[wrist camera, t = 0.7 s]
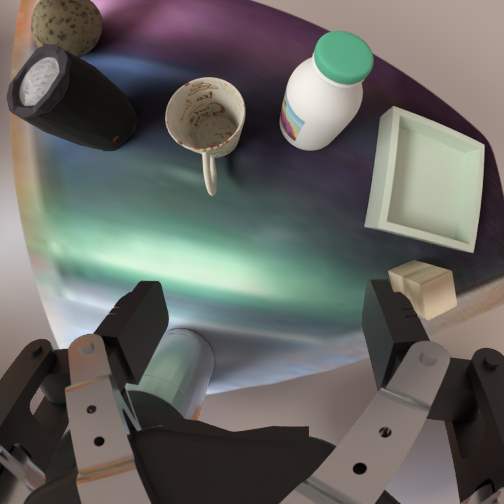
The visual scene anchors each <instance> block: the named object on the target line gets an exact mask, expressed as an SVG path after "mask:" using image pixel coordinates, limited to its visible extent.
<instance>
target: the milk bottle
mask: <svg viewBox="0 0 504 504" xmlns="http://www.w3.org/2000/svg"><path fill="white" fill-rule="evenodd" d="M373 61H374V59H373V54H372V52H371V49H370V48H369V46H368V45H367V44H366V43H365V42H364V41H363V40H362V39H361V38H359V37H358V36H356V35H354V34H352V33H349V32H344V31H333V32H329V33H327V34H325V35H324V36H322V37H321V38H320V39H319V41H318V43H317V45H316V47H315V51H314V54H313V57H312V58H309V59H307V60H306V61H304V62H303V63H301V64H300V65H299V66H298V67H297V68H296V69H295V70H294V72H293V73H292V75H291V77H290V79H289V82H288V85H287V88H286V92H285V96H284V100H283V104H282V109H281V114H280V128H281V131H282V133H283V135H284V137H285V138H286V139H287V141H288V142H290V143H291V144H292V145H293V146H295V147H297V148H300V149H303V150H309V151H313V150H319V149H321V148H324V147H325V146H327V145H328V144H329V143H330V142H332V141H333V140H334V139H335V137H336V136H337V135H338V134H339V133H340V132H341V131H342V130H343V129H344V128H345V127H346V126H347V125H348V124H349V122H350V121H351V120H352V119H353V118H354V116H355V115H356V113H357V112H358V110H359V108H360V105H361V102H362V95H363V89H362V82H363V81H364V79H365V78H366V77H367V75H368V74H369V73H370V71H371V69H372V67H373Z"/></svg>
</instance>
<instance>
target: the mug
mask: <svg viewBox="0 0 504 504" xmlns="http://www.w3.org/2000/svg"><path fill="white" fill-rule="evenodd" d="M244 120H245V104H244V100H243V98H242V96H241V94H240V93H239V91H238V90H237V89H236V88H235V87H234V86H233V85H232V84H230V83H229V82H227V81H224V80H222V79H218V78H212V77H206V78H199V79H195V80H192V81H190V82H188V83H186V84H185V85H183V86H182V87H180V88H179V89H178V90H177V91H176V92H175V93H174V95H173V96H172V98H171V99H170V101H169V103H168V106H167V109H166V125H167V128H168V131H169V133H170V135H171V136H172V137H173V139H174V140H175V141H176V142H177V143H179V144H180V145H181V146H183V147H185V148H187V149H189V150H192V151H195V152H197V153H200V154H202V155H203V170H204V178H205V183H206V187H207V190H208V193H209V194H210V195H211V196H213V195H215V193H216V188H217V184H216V182H217V173H216V166H215V160H214V158H218V157H223V156H225V155H227V154H229V153H230V152H232V151H233V150H234V149H235V147H236V146H237V144H238V141H239V138H240V135H241V131H242V127H243V124H244ZM210 157H211V158H210Z"/></svg>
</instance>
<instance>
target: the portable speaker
mask: <svg viewBox="0 0 504 504" xmlns="http://www.w3.org/2000/svg"><path fill="white" fill-rule="evenodd" d="M7 101H8V106H9V110H10V111H11V112H12V113H13V114H15V115H17V116H18V117H20V118H22V119H23V120H25V121H27V122H28V123H30V124H32V125H34V126H35V127H37V128H39V129H41V130H42V131H44V132H46V133H49V134H52V135H54V136H57V137H60V138H62V139H65V140H68V141H70V142H73V143H75V144H78V145H82V146H86V147H91V148H95V149H100V150H103V151H114V150H115V149H116V148H118V147H119V146H121V145H123V144H124V143H125V142H126V141H127V140H128V139H129V138H130V136H131V135H133V134H134V133H135V131H136V128H137V125H138V119H137V115H136V111H135V109H134V108H133V106H132V105H131V103H130V102H129V100H128V99H127V97H126V96H125V95H124V93H123V92H122V91H121V90H120V89H119V88H118V87H117V86H116V85H114V84H113V83H112V82H111V81H110V80H109V79H108V78H107V77H105V76H104V75H103V74H102V73H101V72H100V71H99V70H98V69H96V68H95V67H94V66H92V65H91V64H89V63H87V62H85V61H84V60H82V59H80V58H78V57H77V56H75V55H73V54H71V53H69V52H68V51H65V50H64V49H63V48H62V47H60V46H59V45H56V44H54V45H51V44H46V45H44V46H42V47H40V48H38V49H36V50H35V52H34V53H33V55H32V56H31V57H30V58H29V60H28V61H27V62H26V63H25V65H24V66H23V67H22V69H21V70H20V71H19V72H18V74H17V75H16V77H15V78H14V79H13V81H12V82H11V83H10V85H9V89H8V93H7Z"/></svg>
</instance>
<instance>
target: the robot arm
mask: <svg viewBox="0 0 504 504" xmlns="http://www.w3.org/2000/svg"><path fill="white" fill-rule="evenodd" d="M168 322H169V315H168V310H167V306H166V302H165V298H164V294H163V290H162V286H161V284H160V282H159V281H140V282H139V283H138V284H137V286H136V287H135V288H134V290H133V291H132V292H129V293H128V294H126V295H125V296H123V297H122V298H121V299H119V301H118V302H117V303H116V305H115V306H114V308H112V310H111V311H110V312H109V315H107V316H106V317H105V319H104V320H103V321H102V323H101V324H100V325H99V327H98V328H97V329H96V331H95V332H94V333H93V334H86V335H83V336H80V337H78V338H77V339H75V340H74V341H73V342H72V343H71V345H70V346H69V349H59V350H54V349H53V347H52V345H51V343H50V342H49V341H48V340H46V339H38V340H35V341H33V342H31V343H29V344H28V345H27V346H26V347H25V348H24V349H23V350H22V352H21V353H20V354H19V356H18V357H17V358H16V359H15V361H14V362H13V363H12V365H11V366H10V367H9V369H8V370H7V371H6V373H5V374H4V375H3V377H2V378H1V380H0V504H400V503H399V502H398V501H397V500H396V499H395V498H394V497H393V496H391V495H390V494H389V493H388V492H387V491H386V490H385V488H386V486H387V485H388V484H389V482H390V480H391V479H392V478H393V476H394V475H395V473H396V471H397V470H398V468H399V467H400V465H401V463H402V462H403V460H404V458H405V457H406V455H407V453H408V451H409V449H410V448H411V446H412V444H413V443H414V441H415V439H416V437H417V435H418V433H419V431H420V429H421V427H422V426H423V424H424V422H425V420H426V419H433V420H442V421H444V422H445V426H446V430H447V434H448V439H449V443H450V448H451V453H452V458H453V463H454V468H455V473H456V479H457V485H458V492H459V498H460V504H504V356H503V355H502V354H501V353H500V352H498V351H496V350H494V349H490V348H482V349H479V350H477V351H476V352H475V353H474V355H473V357H472V359H471V360H466V359H457V358H451V357H450V356H449V353H448V352H447V350H446V349H445V348H444V347H443V346H441V345H439V344H438V343H435V342H431V341H430V340H429V338H428V336H427V334H426V332H425V329H424V327H423V325H422V323H421V321H420V319H419V317H417V313H416V311H415V310H414V307H413V305H412V303H411V301H410V299H408V298H407V297H406V296H405V295H404V294H402V293H401V292H394V291H393V289H392V287H391V285H390V283H389V281H388V280H387V279H380V280H368V282H367V286H366V293H365V300H364V307H363V314H362V326H363V332H364V336H365V339H366V343H367V347H368V351H369V355H370V360H371V363H372V368H373V372H374V377H375V381H376V385H377V390H378V393H377V395H376V396H375V397H374V399H373V400H372V401H371V403H370V404H369V406H368V407H367V408H366V410H365V411H364V412H363V414H362V415H361V417H360V418H359V419H358V421H357V422H356V423H355V424H354V426H353V427H352V428H351V430H350V431H349V432H348V434H347V435H346V436H345V437H344V438H343V440H342V441H341V442H340V443H339V445H338V446H335V445H333V444H331V443H329V442H326V441H324V440H321V439H318V438H315V437H309V427H308V426H307V427H306V426H305V427H286V426H285V427H284V426H283V427H282V426H281V427H280V426H270V427H265V428H259V429H252V430H246V431H238V432H232V431H228V430H225V429H222V428H218V427H215V426H212V425H209V424H207V423H204V422H201V421H198V418H199V415H200V411H201V407H202V404H203V401H204V398H205V395H206V391H207V388H208V385H209V382H210V378H211V375H212V372H213V368H214V363H215V361H214V354H213V351H212V349H211V347H210V345H209V344H208V343H207V341H206V340H205V339H204V338H203V337H201V336H200V335H199V334H197V333H195V332H193V331H190V330H187V329H172V330H169V331H166V329H167V327H168ZM165 331H166V332H165ZM38 388H40V389H41V391H42V392H43V393H44V395H45V396H44V398H43V400H42V401H41V403H40V405H39V407H38V408H37V410H36V412H35V413H34V415H32V413H31V411H30V401H31V399H32V398H33V396H34V394H35V393H36V391H37V389H38ZM68 424H69V425H70V429H69V430H68V431H67V432H66V433H65V434H64V432H65V430H66V428H67V426H68ZM63 434H64V435H63Z"/></svg>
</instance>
